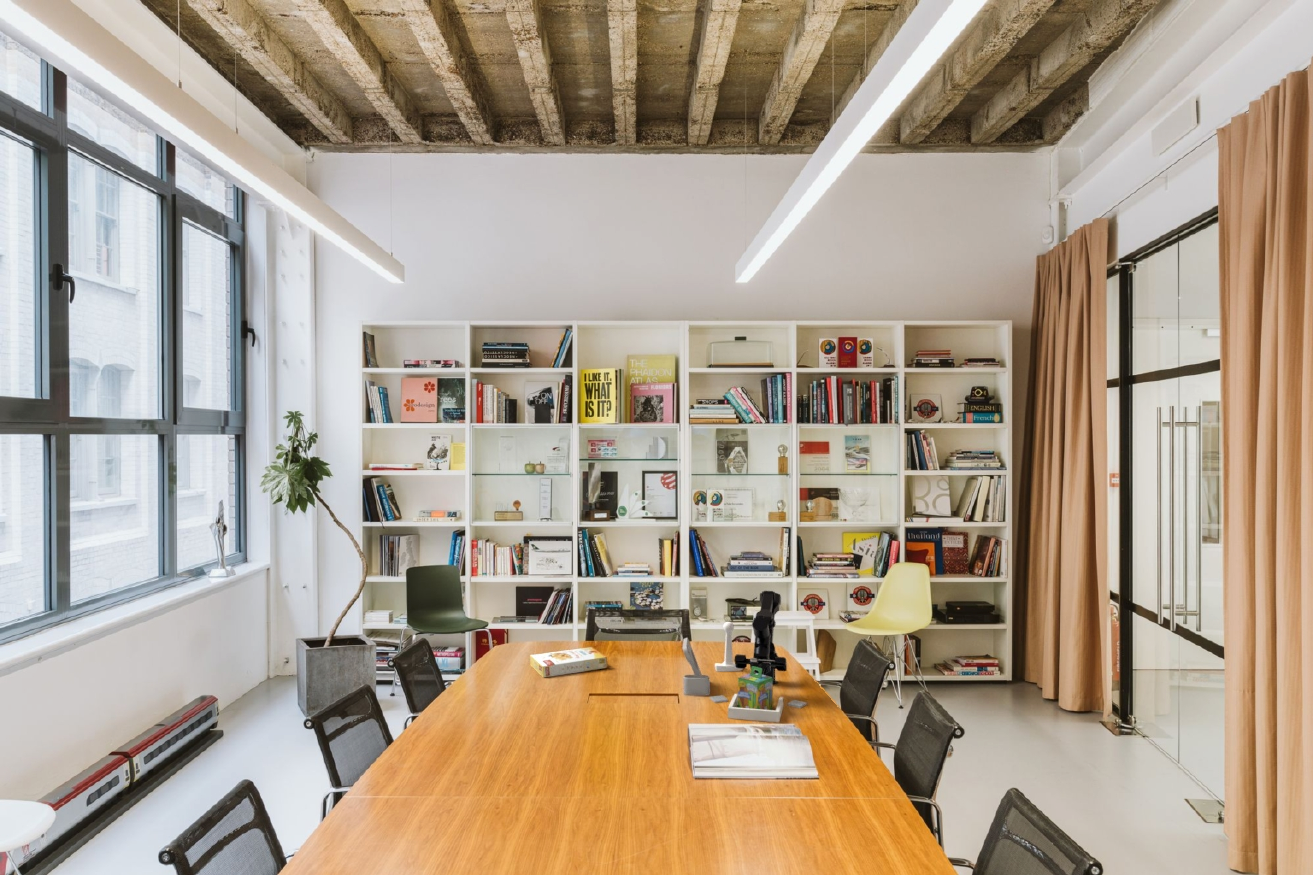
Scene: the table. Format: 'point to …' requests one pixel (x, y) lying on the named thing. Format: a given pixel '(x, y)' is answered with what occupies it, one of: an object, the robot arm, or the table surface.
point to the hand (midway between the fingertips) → (758, 683)
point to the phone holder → (695, 682)
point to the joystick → (727, 651)
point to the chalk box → (755, 690)
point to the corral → (754, 712)
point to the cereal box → (568, 661)
